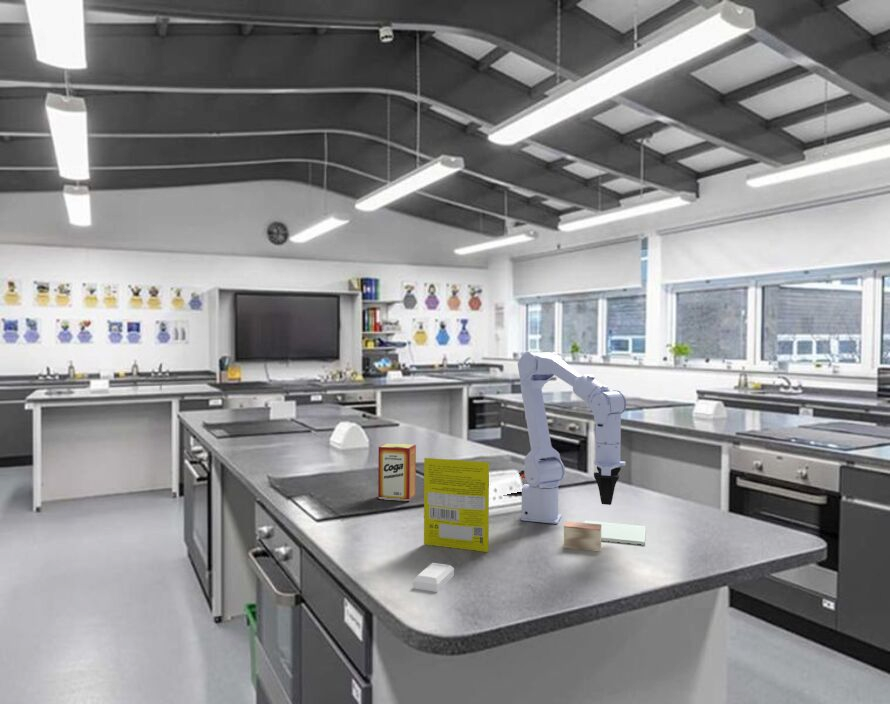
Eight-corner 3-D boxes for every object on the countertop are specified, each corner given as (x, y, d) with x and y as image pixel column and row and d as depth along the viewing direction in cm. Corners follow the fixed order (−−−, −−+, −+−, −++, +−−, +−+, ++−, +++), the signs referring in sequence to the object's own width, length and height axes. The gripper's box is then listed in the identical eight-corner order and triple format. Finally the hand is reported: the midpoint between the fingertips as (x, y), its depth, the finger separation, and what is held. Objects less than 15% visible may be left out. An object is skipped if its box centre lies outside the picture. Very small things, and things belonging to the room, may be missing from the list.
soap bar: (413, 590, 118) (413, 576, 118) (431, 573, 127) (431, 560, 127) (437, 594, 116) (437, 580, 116) (454, 577, 125) (454, 564, 125)
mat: (578, 538, 149) (578, 535, 149) (584, 523, 161) (584, 520, 161) (644, 545, 144) (644, 541, 144) (645, 529, 156) (645, 526, 156)
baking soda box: (378, 499, 184) (378, 445, 183) (385, 494, 190) (385, 442, 190) (409, 502, 181) (409, 447, 181) (415, 496, 188) (415, 443, 187)
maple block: (563, 547, 142) (563, 526, 142) (566, 542, 146) (566, 521, 146) (599, 551, 140) (599, 529, 140) (601, 546, 144) (601, 524, 143)
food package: (489, 551, 139) (489, 462, 139) (487, 553, 138) (488, 462, 138) (424, 543, 144) (425, 457, 144) (423, 545, 143) (423, 458, 143)
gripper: (624, 448, 138) (624, 509, 139) (626, 438, 152) (625, 494, 152) (592, 446, 141) (591, 506, 141) (596, 437, 154) (596, 492, 155)
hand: (607, 500), depth 147 cm, fingers open, 7 cm apart
